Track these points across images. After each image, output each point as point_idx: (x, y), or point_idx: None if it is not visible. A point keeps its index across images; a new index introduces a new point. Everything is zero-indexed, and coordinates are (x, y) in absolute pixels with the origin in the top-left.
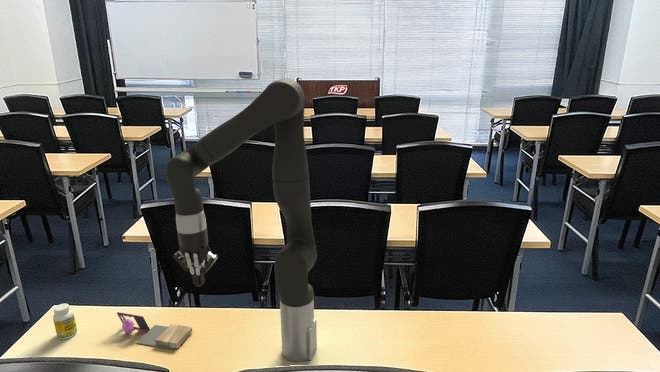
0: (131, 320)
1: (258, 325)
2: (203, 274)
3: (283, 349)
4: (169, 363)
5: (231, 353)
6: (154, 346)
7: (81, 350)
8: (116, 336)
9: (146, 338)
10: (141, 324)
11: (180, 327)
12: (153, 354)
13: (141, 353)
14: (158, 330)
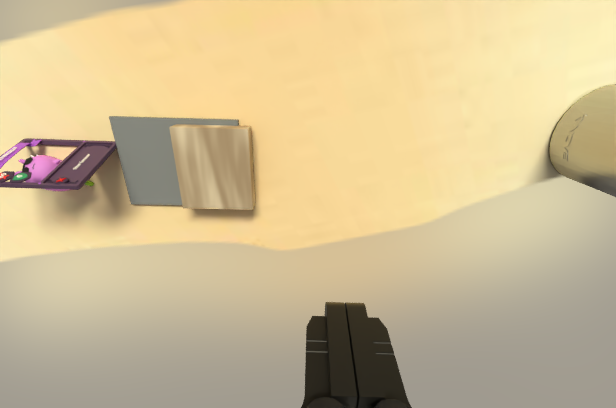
0: (39, 163)
1: (457, 28)
2: (402, 393)
3: (572, 174)
4: (267, 245)
5: (404, 183)
6: None
7: (30, 251)
8: None
9: (142, 183)
10: (84, 161)
11: (212, 139)
12: (208, 228)
13: (177, 231)
14: (144, 141)
